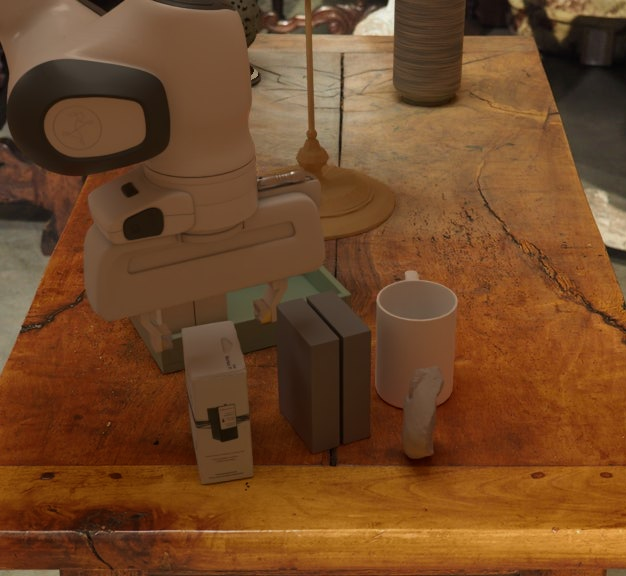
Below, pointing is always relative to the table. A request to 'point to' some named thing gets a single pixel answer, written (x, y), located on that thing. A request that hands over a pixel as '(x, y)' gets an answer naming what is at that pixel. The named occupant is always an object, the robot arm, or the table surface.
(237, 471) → the ink box
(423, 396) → the fossil
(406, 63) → the vase
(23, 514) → the table surface
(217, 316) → the cream books
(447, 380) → the mug
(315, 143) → the desk lamp
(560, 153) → the table surface
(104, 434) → the table surface
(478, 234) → the table surface
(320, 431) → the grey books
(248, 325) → the book trough
